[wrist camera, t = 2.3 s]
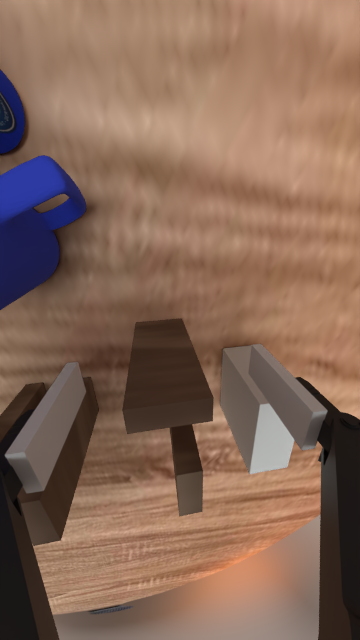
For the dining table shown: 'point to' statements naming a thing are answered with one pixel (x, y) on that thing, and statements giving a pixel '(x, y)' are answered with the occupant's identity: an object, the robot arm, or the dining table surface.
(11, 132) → the beverage can
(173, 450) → the domino
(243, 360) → the block
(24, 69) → the dining table surface
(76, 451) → the domino
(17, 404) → the domino
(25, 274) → the mug
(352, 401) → the dining table surface
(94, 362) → the dining table surface
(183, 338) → the domino
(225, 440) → the dining table surface
